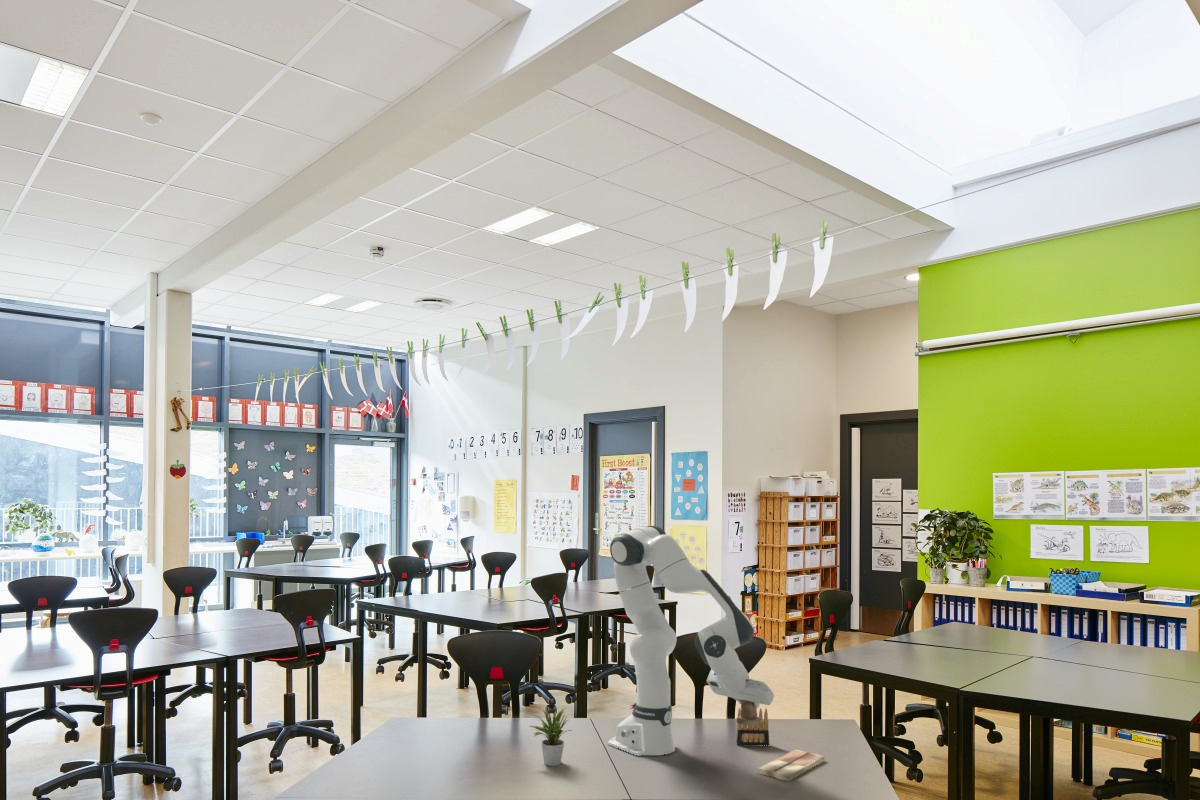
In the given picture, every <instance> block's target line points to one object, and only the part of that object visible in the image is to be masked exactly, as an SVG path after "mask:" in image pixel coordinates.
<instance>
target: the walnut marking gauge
mask: <svg viewBox="0 0 1200 800" xmlns="http://www.w3.org/2000/svg"><path fill="white" fill-rule="evenodd" d="M752 703H753V702H751V701H746V700H741V704H740V710H741V716H739V717H738V716H736V724H737V723H741V724H745V725H747V726H748V725H749V726H754V725H756V724H758V723H761V717H759V716H758V711H757V710H758V708H755V707H753V706H752Z"/></svg>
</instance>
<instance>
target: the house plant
mask: <svg viewBox="0 0 1200 800" xmlns="http://www.w3.org/2000/svg"><path fill="white" fill-rule="evenodd" d="M565 710H566V707H564V708H562V709H561V710H560V711H558V713H557V710H554V713H553V717H551V715H550V714H549V713H548V712H547V711H545V710H544V709H543V708H541V711H542V712H543V713H544V716H545V719H546V722H545V721H544V719H543V718H541V717H540V716H537V715H533V714H531V716H532V717H535V718H537V719H539V720H540V721H541V724H542V726H543V727H541V726H537V725H529V727H530V728H533V729H532V730H534V731H536V730H537V732H534V733H533V735H534V737H536V736H539V735H543V736H544V737H545V739H544V740H542V741H541V752H542V757H543V764H544V765H545V766H550V767H555V766H560V765H561V764H562V757H563V752H564V748H565V747H564V746H565V741H564V739H563V740H562V739H560V738H561V736H562V735H563V734H564V733H566V732H573V730H572V729H568V730H565V731H564V730H562V729H563V728H564V726H565V725H566V723H567V722H568V721H569V719H567V718H568V715H569V714H567V715H566V712H565ZM563 713H564V714H563ZM540 731H541V732H540Z"/></svg>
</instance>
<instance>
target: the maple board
mask: <svg viewBox="0 0 1200 800" xmlns="http://www.w3.org/2000/svg"><path fill="white" fill-rule="evenodd" d="M823 761H824V762H825V756H824V755H821V754H817V753H811V752H808V751H804V750H799V749H796V748H795V749H793V750H791V751H789V752H787V753H785V754H783V755H781V756H780V757H778V758H776V759H774V760H771V761H770V762H767V763H766V764H764V765H761V766H760V767H758V768H757V772H758V774H759V775H763V776H767V777H770V776H771V778H774V777H775V778H774V779H778V780H782V781H785V782H790V781H792V780H794V779H795V778H797V777H798V775H799V776H801V775H802V774H805V773H806V772H807V770H808V771H809V769H810V770H811V769H813V768H815V767H817V766H818V765H820V764H822V763H824V762H823ZM821 762H822V763H821ZM816 765H817V766H816ZM814 766H815V767H814ZM812 767H813V768H812ZM805 771H806V772H805ZM800 774H801V775H800ZM793 778H794V779H793Z"/></svg>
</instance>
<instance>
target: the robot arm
mask: <svg viewBox="0 0 1200 800" xmlns="http://www.w3.org/2000/svg"><path fill="white" fill-rule="evenodd" d="M609 553H610V556H611V558H612V560H613V562H614V563H613V571H614V577H615V583H616V587H617V590H618V593H619V596H620V600H621V602H622V606H623V608H624V611H625V614H626V615H627V617H628V618H629V619H630V621H631V622H632V623H633V625H634V627H635V629H636V630H637V633H636V634H635V635H634V637H633V638H632V640H631V642H630V644H629V653H630V656H631V658H632V660H633V665H634V671H635V677H636V702H635V703H633V704H632V705H630V707H629V710H632V713H631V714H630V715H629V716H627V717H626V718H625V719H623V720H622V721H621V722H619V723H618V725H617V727H616V730H615V735H614V736H613V737H612V738H610V739H609V740H608V744H607V745H608V746H611V747H613V748H615V749H618V748H619V749H618V750H620V749H621V750H620V751H623V750H624V752H625V751H626V753H628V752H629V753H628V754H630V753H631V755H633V754H634V755H633V756H636V755H637V757H638V756H639V757H642V755H643V756H665V755H668V754H672V753H674V752H675V751H676V746H675V743H674V739H673V738H674V737H673V733H672V717H673V714H672V713H673V710H672V704H671V678H670V676H669V674H668V668H667V657H668V656H670V654H672V653H673V651H674V649H675V648H676V645H677V640H678V638H677V634H676V632H675V630H674V628H672V627H671V626H670V624H669V622H668V620H667V618H666V617H665V615H664V613H663V611H662V610H661V607H660V605H659V604H658V601H657V597H656V594H655V592H654V589H653V586H652V583H651V580H650V578H649V577H650V576H649V575H648V571H647V564H648V563H650V564H651V566H652V567H653V569H654V571H655V573H656V575H657V577H658V578H659V581H660V582H661V584H662V585H663V586H664V588H665V589H666V590H667V591H669V592H671V593H673V594H674V593H675V594H689V593H697V592H698V593H699V592H704V593H707V594H709V595H711V597H712V598H713V599H714V601H716V603H717V604H718V605H719V607H720V608H721V609H722V610H723V612H724V613H725V616H724V617H723V618H721V619H719V620H717V621H716V622H714V623H712V624H710V625H708V626H706V627H704V628H702V629H700V630H699V631H698V632H696V636H695V639H694V647H695V648H696V650H697V653H698V654H699V656H700V657H701V659H702V661H703V662H704V664H705V665H706V666H709V667H710V671H709V674H708V676H707V679H706V683H707V684H708V686H709V688H710V689H711V691H712V692H713V693H714V694H715V695H719V696H722V697H723V696H724V697H728V698H732V699H734V700H735V701H737V702H738V704H739V705H741V700H746V701H751V702H753V703H752V706H753V707H755V708H757V709H758V708H759V707H760V705H761V704H762V705H766V706H770V705H771V704H772V703H773V701H774V697H775V694H774V692H773V690H771V688H770V687H769V685H768V684H766V682H764V681H762V680H757V679H752V678H750V675H749V672H748V671H747V669H746V667H745V665H744V663H743V662H742V661H741V660H740V659H739V656H738V653H737V652H736V649H737V648H739V647H742V646H744V645H746V644H748V643H751V641H752V639H753V637H754V634H755V629H754V624H753V623H752V621H751V619H749V617H748V616H747V615H746V614H745V613H744V612H743V611H741V610H740V609H739V608H738V606H737V605H736V604H735V602H734V601H733V600H732V599H731V597H729V595H728V594H727V593H726V592H725V590H724V589H723V588H722V587H721V586H720V584H719V583H718V582H717V581H716V580H715V579H714V577H713V576H712V575H711V574H710V573H709V572H708V571H706V570H705V569H699V568H697V567H695V566H694V565H693V564H692V563H691V562H690V560H689V558H688V556H687V555H686V553H685V551H684V550H683V549H682V548H681V546H680V545H679V543H678V542H677V541H676V540H675V539H674V537H673V536H671V535H670V534H667V533H666V531H665V530H664V529H663V528H662V527H660V526H656V525H647V526H643V527H638V528H634V529H632V530H630V531H626V532H623V533H620V534H619V535H617V536H615V537H614V538H613V539H612V540H611V542H610V545H609ZM664 754H665V755H664Z"/></svg>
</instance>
